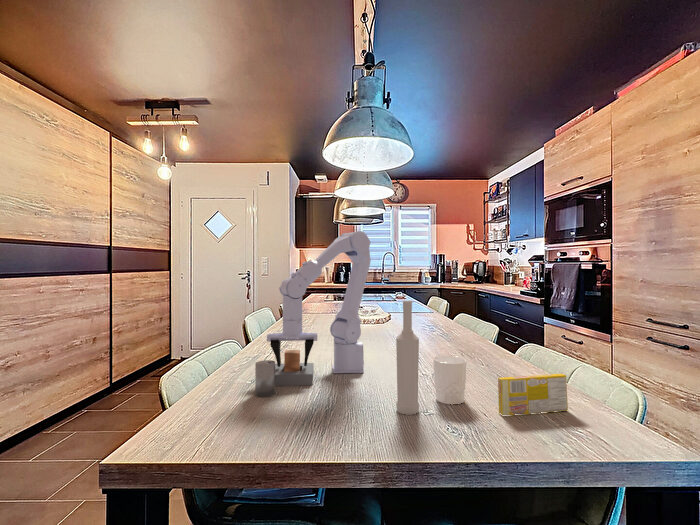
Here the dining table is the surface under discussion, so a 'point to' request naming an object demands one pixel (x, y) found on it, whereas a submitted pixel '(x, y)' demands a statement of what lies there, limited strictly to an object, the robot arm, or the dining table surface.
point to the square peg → (292, 360)
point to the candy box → (532, 394)
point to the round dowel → (265, 378)
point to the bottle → (407, 365)
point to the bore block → (294, 375)
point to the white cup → (450, 379)
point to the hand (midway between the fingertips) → (292, 365)
